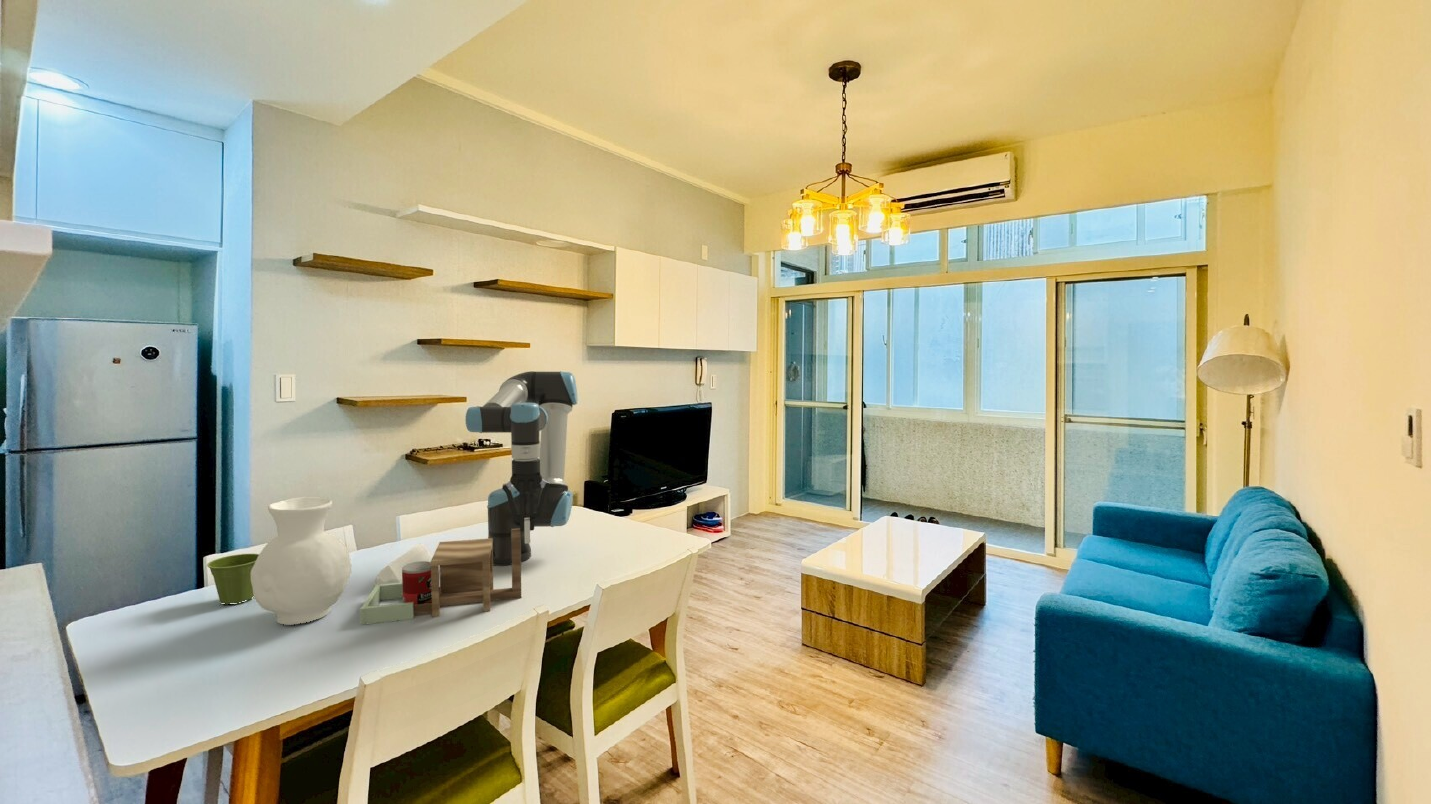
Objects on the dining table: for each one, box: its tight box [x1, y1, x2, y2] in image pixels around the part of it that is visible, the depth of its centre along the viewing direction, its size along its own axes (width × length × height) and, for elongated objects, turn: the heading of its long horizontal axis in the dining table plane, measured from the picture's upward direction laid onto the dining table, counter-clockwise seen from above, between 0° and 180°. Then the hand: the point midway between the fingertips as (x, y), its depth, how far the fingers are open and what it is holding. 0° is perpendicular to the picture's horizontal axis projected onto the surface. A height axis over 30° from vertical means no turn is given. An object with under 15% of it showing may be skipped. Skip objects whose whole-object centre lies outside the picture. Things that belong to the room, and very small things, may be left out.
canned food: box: [402, 561, 432, 605], centre depth 163 cm, size 8×8×11 cm
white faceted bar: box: [375, 543, 433, 586], centre depth 184 cm, size 7×7×24 cm
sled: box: [413, 528, 522, 616], centre depth 165 cm, size 12×30×19 cm, turn 107°
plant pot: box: [206, 553, 260, 605], centre depth 165 cm, size 12×12×11 cm
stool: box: [431, 537, 494, 618], centre depth 166 cm, size 16×14×15 cm
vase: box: [251, 496, 352, 626], centre depth 154 cm, size 19×21×30 cm
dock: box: [359, 582, 415, 625], centre depth 161 cm, size 16×12×4 cm
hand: (527, 541), depth 170 cm, fingers closed
